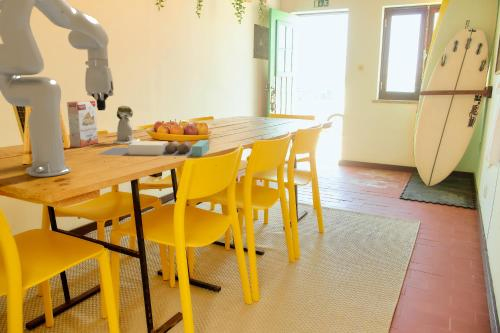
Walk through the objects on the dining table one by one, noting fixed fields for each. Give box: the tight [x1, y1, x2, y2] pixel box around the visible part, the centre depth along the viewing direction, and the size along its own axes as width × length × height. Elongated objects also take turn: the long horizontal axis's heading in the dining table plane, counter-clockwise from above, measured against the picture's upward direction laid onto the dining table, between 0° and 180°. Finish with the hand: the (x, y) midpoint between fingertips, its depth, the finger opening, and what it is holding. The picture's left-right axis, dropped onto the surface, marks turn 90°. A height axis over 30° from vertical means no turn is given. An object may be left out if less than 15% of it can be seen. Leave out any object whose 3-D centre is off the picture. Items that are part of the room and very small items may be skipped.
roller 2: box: [177, 140, 193, 154], centre depth 164 cm, size 9×4×4 cm
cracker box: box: [66, 100, 99, 148], centre depth 183 cm, size 14×6×21 cm, turn 168°
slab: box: [127, 140, 169, 156], centre depth 164 cm, size 10×14×4 cm
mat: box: [98, 147, 193, 157], centre depth 166 cm, size 16×44×1 cm, turn 85°
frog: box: [113, 105, 142, 145], centre depth 189 cm, size 12×13×18 cm
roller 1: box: [165, 140, 181, 154], centre depth 165 cm, size 9×4×4 cm, turn 176°
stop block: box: [191, 139, 210, 157], centre depth 164 cm, size 16×4×4 cm, turn 175°
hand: (101, 110), depth 159 cm, fingers closed
